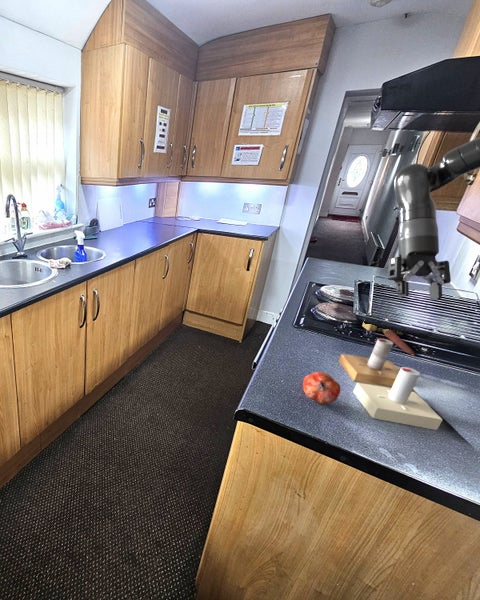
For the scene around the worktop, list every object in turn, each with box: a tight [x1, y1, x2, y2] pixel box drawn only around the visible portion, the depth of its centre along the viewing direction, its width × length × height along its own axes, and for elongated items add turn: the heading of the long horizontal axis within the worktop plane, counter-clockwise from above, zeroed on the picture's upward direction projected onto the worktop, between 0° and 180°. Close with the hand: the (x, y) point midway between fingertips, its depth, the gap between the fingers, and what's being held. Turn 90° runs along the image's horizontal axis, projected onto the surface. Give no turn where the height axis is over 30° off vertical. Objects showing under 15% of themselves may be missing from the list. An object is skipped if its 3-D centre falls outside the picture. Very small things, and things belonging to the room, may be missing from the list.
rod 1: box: [367, 337, 394, 370], centre depth 88 cm, size 3×3×8 cm
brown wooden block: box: [338, 353, 400, 388], centre depth 90 cm, size 12×10×3 cm
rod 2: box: [388, 366, 421, 404], centre depth 75 cm, size 3×3×8 cm
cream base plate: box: [353, 382, 444, 431], centre depth 77 cm, size 12×10×3 cm
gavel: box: [362, 321, 415, 356], centre depth 106 cm, size 21×5×10 cm
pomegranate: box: [302, 371, 341, 405], centre depth 80 cm, size 7×7×10 cm
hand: (419, 298), depth 86 cm, fingers open, 8 cm apart
